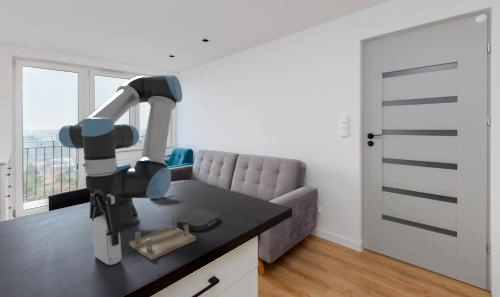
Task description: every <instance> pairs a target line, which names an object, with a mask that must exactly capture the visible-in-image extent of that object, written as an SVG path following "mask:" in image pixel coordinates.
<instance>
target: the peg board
mask: <svg viewBox="0 0 500 297" xmlns="http://www.w3.org/2000/svg"><path fill="white" fill-rule="evenodd" d="M141 233H142V232H141V231H135V232H134V239H132V240H129V241H128V246H130V247H131V248H132V249H134V250H135V251H137V252H138V253H139V254H141V255H143V256H144V257H146V258H147V259H148V260H150V261H152V260H153V261H154V260H155V259H157V258H159V257H162V256H164V255H166V254H169V253H171V252H173V251H175V250H177V249H179V248H181V247H184V246H185V245H188V244H191V243H193V242H195V241H197V236H195V235H193V234H191V233H190V230H189V225H188V224H186V225H184V228H183V229H182V228H180V227H177V220H176V218H173V219H172V220H171V225H170V226H168V227H166V228H162V229H160V230H157V231H154V232H151V233H149V234H146V235H143V236H142V235H141Z"/></svg>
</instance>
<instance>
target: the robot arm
mask: <svg viewBox="0 0 500 297" xmlns="http://www.w3.org/2000/svg"><path fill="white" fill-rule="evenodd" d="M182 100H183V90H182V85H181V82H180V80H179V79H178V77H177V76H176V75H174V74H172V75H171V74H170V75H169V74H165V75H159V74H158V75H139V76H136V77H134V78H131V79H129V80H128V81H125V82H124V83H123V84H121V85H120V86H119V87H117V89H116V92H115V93H114V94H113V95H112V96H110V97H109V98H108V99H107V100H106V101H105V102H103V103H102V104H100V105H99V106H98V107H97V108H95V109H94V110H93V111H91V113H89V114H88V115H87V116H85V118H83V119H82V120H81V121H79V122H78V123H76V124H71V123H70V124H66V125H64V126H62V127H61V128H60V129H59V132H58V140H59V142H60V144H61V145H62V146H63V147H64V148H68V149H77V150H79V149H83V155H84V156H83V159H84V163H82V167H83V168H84V173H85V174H87V175H86V176H85V185H86V186H85V187H86V189H87V190H89V194H90V195H89V198H90V199H89V200H90V201H89V219H90V220H91V222H92V221H93V220H94V218H96V217H99V216H102V215H104V217H105V221H106V224H107V228H108V232H109V233H107V234H106V236H107V237H108V251H109V257H110V258H111V257H114V256H116V255H119V254H121V255H122V252H121V253H120V242H121V237H120V238H119V232H120V233H122V232H123V231H124V229H126V228H128V227H131V226H133V225H134V224H136V223H137V222H138V221H139V213H138V210H137V209H136V206H135V204H134V201H133V199H149V200H151V199H153V198H159V199H160V198H164V197H165V195H166V194H167V193H168V192H169V190H170V188H169V187H170V185H171V184H172V183H171V182H172V172H171V170H170V168H168V164H167V163H166V162H165V156H166V150H167V143H168V137H169V131H170V130H169V129H170V124H171V123H170V122H171V116H172V111H173V110H175V109H176V107H177V103H180V102H182ZM141 103H148V104H149V105H150V107H149V114H148V119H147V126H146V129H145V136H144V142H143V148H142V152H141V158H140V159H138V160H137V161H136V162H135V167H132V165H131V164H130V163H121V164H118V163H117V157H116V156H117V155H116V150H120V149H129V148H131V147H134V146H135V145H137V143H138V142H139V140H140V133H139V131H138V129H137V128H136V127H135V126H134V125H131V124H123V123H122V124H115V123H116V122H117V121H119V120H120V118H122V117H123V116H124V115H125V113H127V112H128V111H129V110H130V109H131V108H132V107H137V105H139V104H141ZM170 183H171V184H170ZM168 189H169V190H168ZM153 200H154V199H153Z"/></svg>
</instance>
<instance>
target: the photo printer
mask: <svg viewBox="0 0 500 297" xmlns="http://www.w3.org/2000/svg"><path fill="white" fill-rule="evenodd" d="M91 232H92V242H93V253H94V255H95V257H96V258H97V259H98V260H100V262H103V263H104V264H106V265H109V266H111V265H115V264H118V263H119V262H120V261H121V260H122V259H123V258H122V245H121V243H122V242H121V241H120V253H121V254H119V255H116V256H114V257H111V258H110V257H109V251H108V237H107V236H106V234H107V233H109V232H108V228H107V224H106V221H105V217H104V215H102V216H99V217H96V218H94V220H93V221H92V220H91ZM119 238H120V239H121V232H119Z"/></svg>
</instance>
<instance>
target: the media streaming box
mask: <svg viewBox="0 0 500 297" xmlns="http://www.w3.org/2000/svg"><path fill="white" fill-rule="evenodd" d="M175 219H176V220H177V228H179V229H184V225H186V224H188V225H189V231H194V232H200V231H205V230H207V229H209V228H210V227H212V226H214V225H215V224H217V223H218V222H220V214H219V213H217V212H215V211H211V210H208V209H194V210H190V211H186V212H183V213H182V214H180V215H178V216H177V217H176V218H175Z"/></svg>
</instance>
